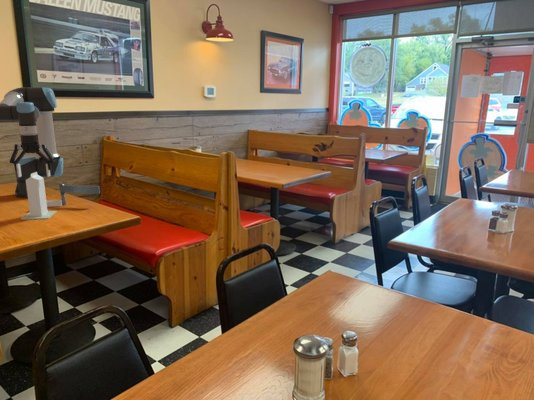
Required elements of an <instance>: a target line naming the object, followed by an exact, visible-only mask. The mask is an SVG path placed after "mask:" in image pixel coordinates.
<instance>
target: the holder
mask: <svg viewBox="0 0 534 400" xmlns="http://www.w3.org/2000/svg"><path fill="white" fill-rule="evenodd" d="M60 198H61V199H60V200H46V202H47V207H63V206H66V205H67V201H66V193H60Z"/></svg>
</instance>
